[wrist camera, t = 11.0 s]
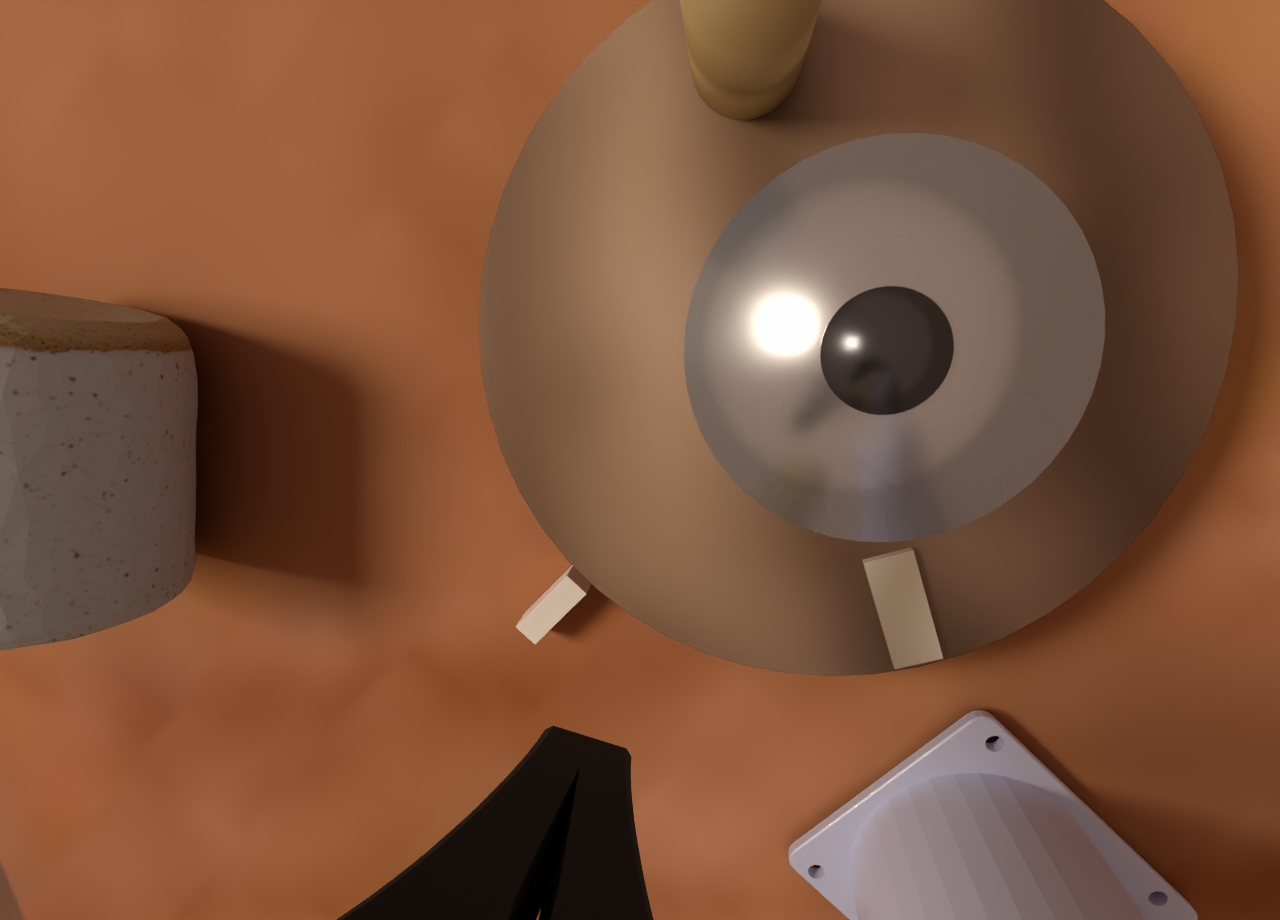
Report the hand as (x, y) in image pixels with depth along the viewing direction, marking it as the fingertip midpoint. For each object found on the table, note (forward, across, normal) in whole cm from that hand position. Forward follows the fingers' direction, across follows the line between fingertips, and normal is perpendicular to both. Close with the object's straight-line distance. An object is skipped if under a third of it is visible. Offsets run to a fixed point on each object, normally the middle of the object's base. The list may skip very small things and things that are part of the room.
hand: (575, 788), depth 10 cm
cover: (+7, -3, -8) cm, 11 cm away
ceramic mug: (+10, +18, +1) cm, 21 cm away
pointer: (+10, +2, +2) cm, 10 cm away
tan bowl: (+10, -3, -7) cm, 13 cm away
